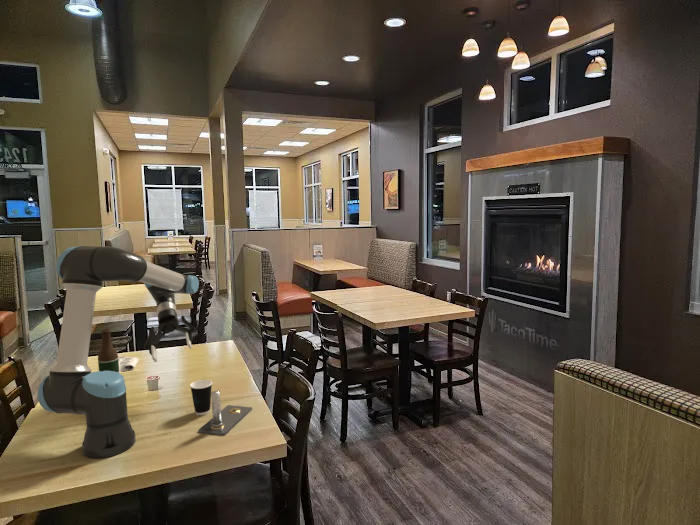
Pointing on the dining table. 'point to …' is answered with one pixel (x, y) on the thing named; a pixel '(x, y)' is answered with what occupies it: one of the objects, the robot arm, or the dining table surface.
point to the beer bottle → (107, 354)
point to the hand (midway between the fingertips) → (172, 353)
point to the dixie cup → (201, 396)
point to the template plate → (226, 420)
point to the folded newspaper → (127, 363)
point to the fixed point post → (216, 410)
